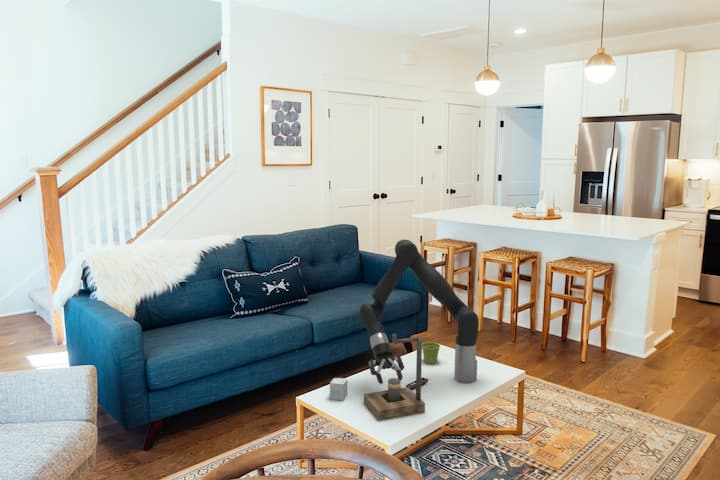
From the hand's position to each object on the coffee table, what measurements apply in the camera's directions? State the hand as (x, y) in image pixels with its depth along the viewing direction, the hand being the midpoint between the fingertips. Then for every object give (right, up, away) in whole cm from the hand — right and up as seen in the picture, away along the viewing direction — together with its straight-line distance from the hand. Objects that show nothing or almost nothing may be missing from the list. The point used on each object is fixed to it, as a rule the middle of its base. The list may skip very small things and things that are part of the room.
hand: (391, 381), depth 225 cm
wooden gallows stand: (+1, -10, -1) cm, 10 cm away
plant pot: (+22, -3, +47) cm, 52 cm away
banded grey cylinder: (+1, -10, 0) cm, 10 cm away
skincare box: (-22, -9, +8) cm, 25 cm away
